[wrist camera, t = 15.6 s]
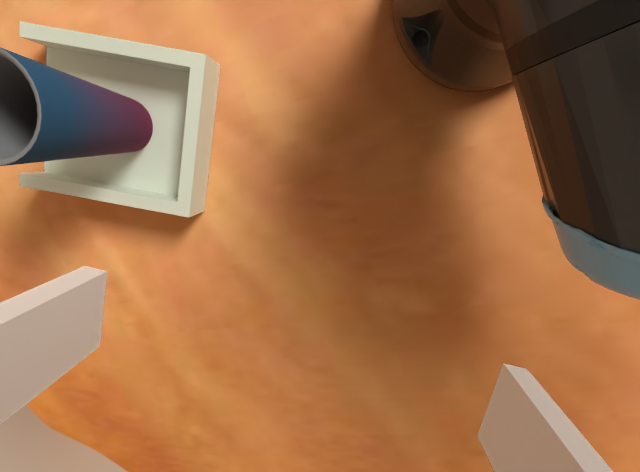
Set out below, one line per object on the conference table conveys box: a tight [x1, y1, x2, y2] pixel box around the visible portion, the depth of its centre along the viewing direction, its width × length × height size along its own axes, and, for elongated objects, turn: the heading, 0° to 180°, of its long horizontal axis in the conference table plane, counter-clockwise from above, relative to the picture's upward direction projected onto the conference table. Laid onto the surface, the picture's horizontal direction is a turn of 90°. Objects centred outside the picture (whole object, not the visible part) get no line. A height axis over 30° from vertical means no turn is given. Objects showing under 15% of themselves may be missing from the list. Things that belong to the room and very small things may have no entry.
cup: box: [0, 48, 153, 166], centre depth 29 cm, size 7×7×15 cm
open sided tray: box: [19, 21, 221, 217], centre depth 35 cm, size 14×16×4 cm
